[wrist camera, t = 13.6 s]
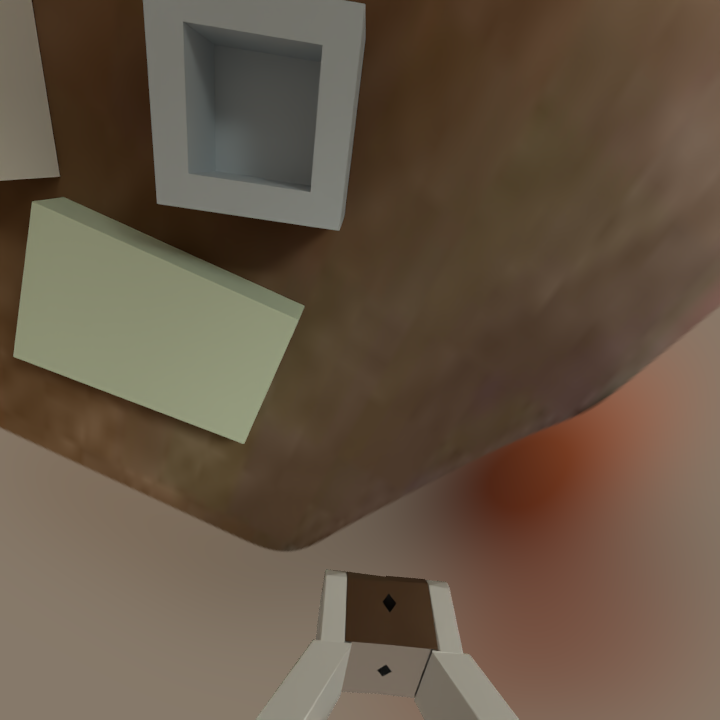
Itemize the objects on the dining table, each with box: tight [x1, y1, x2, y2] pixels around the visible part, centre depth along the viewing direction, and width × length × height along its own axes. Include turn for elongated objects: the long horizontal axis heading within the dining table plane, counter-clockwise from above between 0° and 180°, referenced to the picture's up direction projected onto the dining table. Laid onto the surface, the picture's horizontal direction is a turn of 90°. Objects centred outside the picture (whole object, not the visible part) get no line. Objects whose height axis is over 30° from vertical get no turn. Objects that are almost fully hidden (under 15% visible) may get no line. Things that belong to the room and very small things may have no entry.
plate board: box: [13, 197, 305, 444], centre depth 21 cm, size 12×8×2 cm, turn 64°
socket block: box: [143, 0, 366, 231], centre depth 16 cm, size 7×7×4 cm
